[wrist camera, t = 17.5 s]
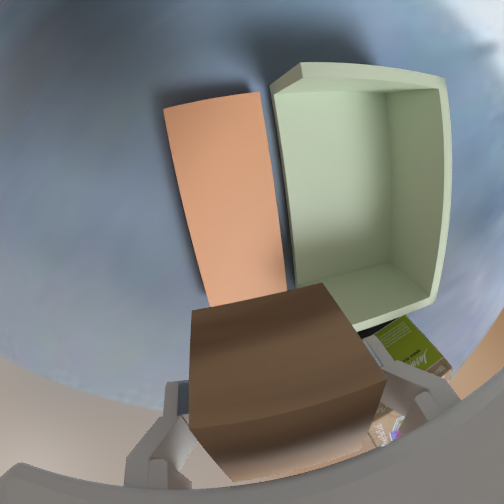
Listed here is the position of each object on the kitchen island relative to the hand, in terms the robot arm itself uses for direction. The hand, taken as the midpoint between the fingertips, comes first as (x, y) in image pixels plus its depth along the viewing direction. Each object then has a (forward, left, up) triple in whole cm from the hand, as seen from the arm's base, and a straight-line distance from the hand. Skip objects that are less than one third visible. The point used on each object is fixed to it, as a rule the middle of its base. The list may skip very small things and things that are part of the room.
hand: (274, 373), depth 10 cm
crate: (-2, +11, -17) cm, 20 cm away
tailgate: (-2, +4, -16) cm, 16 cm away
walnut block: (0, 0, -2) cm, 2 cm away
